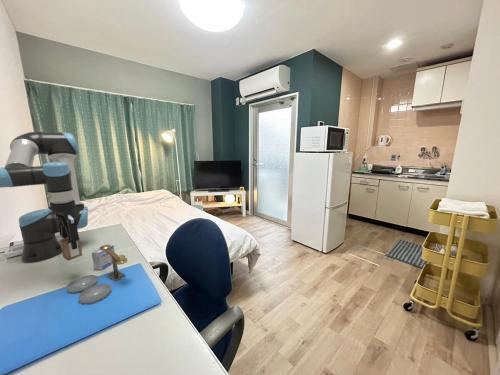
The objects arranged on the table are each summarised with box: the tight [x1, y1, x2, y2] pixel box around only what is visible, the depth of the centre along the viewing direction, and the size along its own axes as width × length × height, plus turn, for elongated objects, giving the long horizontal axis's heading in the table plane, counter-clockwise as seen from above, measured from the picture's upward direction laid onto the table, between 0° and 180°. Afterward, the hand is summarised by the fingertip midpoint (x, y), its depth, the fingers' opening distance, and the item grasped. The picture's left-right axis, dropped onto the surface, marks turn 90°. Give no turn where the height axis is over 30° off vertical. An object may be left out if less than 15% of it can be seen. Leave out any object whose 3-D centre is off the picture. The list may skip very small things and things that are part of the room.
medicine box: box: [91, 244, 116, 271], centre depth 98 cm, size 8×4×9 cm, turn 168°
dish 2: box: [78, 282, 112, 305], centre depth 79 cm, size 10×10×1 cm
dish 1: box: [65, 274, 99, 294], centre depth 85 cm, size 10×10×1 cm
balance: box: [99, 244, 128, 282], centre depth 89 cm, size 17×4×12 cm, turn 59°
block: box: [59, 237, 83, 262], centre depth 88 cm, size 5×5×8 cm
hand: (72, 253), depth 88 cm, fingers closed on block, 5 cm apart
